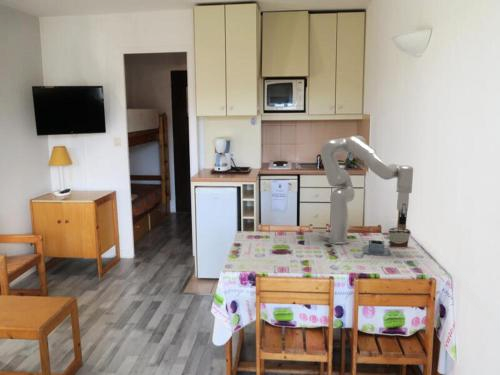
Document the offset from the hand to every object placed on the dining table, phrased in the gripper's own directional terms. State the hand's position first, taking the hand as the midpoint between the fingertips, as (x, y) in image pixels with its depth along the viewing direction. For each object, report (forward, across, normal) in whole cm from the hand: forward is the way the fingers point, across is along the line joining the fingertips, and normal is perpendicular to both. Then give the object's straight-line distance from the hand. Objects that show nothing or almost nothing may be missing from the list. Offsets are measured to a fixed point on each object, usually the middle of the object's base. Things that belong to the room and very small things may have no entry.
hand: (401, 222), depth 232 cm
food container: (+17, -14, 0) cm, 22 cm away
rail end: (+3, 0, 0) cm, 3 cm away
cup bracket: (+17, 0, -12) cm, 21 cm away
